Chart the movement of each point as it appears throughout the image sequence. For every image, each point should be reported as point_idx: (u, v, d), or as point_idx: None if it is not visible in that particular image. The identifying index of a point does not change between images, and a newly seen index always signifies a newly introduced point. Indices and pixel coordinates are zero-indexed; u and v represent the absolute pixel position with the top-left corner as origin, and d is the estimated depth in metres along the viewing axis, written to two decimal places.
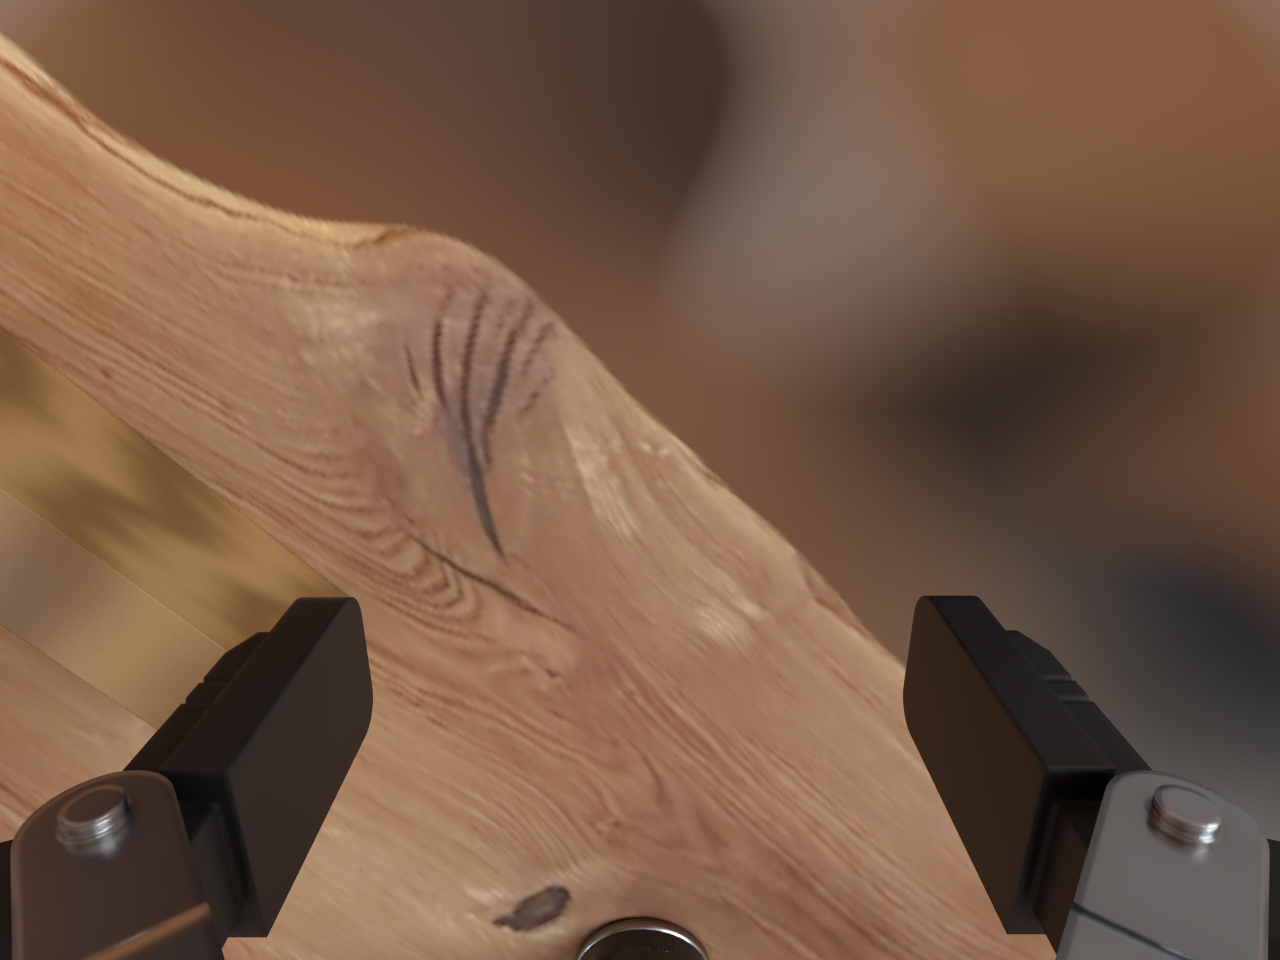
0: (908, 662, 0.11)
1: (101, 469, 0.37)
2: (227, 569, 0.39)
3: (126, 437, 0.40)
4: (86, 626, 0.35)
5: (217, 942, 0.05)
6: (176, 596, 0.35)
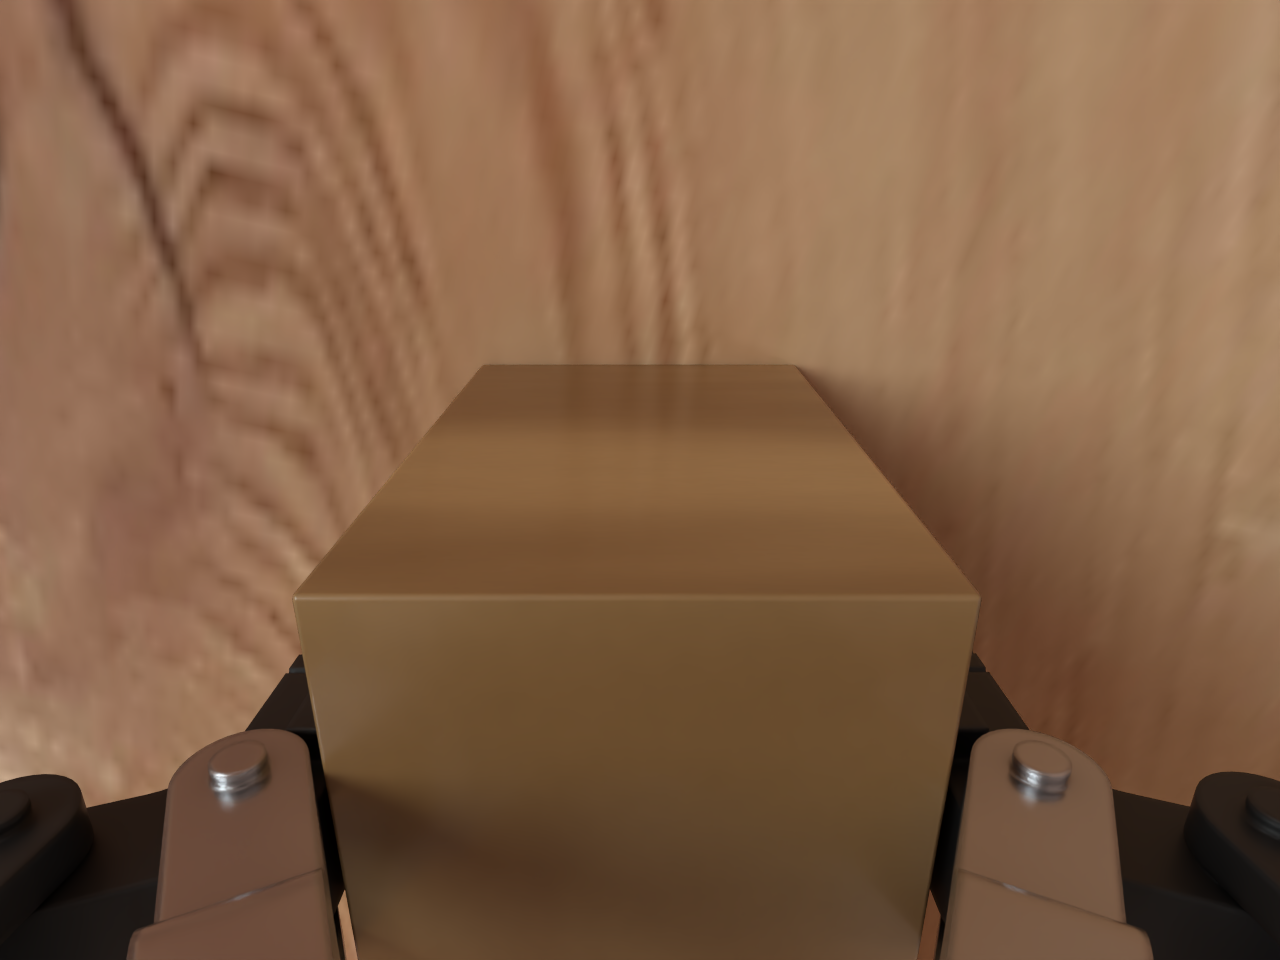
0: None
1: None
2: None
3: None
4: None
5: (324, 910, 0.05)
6: None
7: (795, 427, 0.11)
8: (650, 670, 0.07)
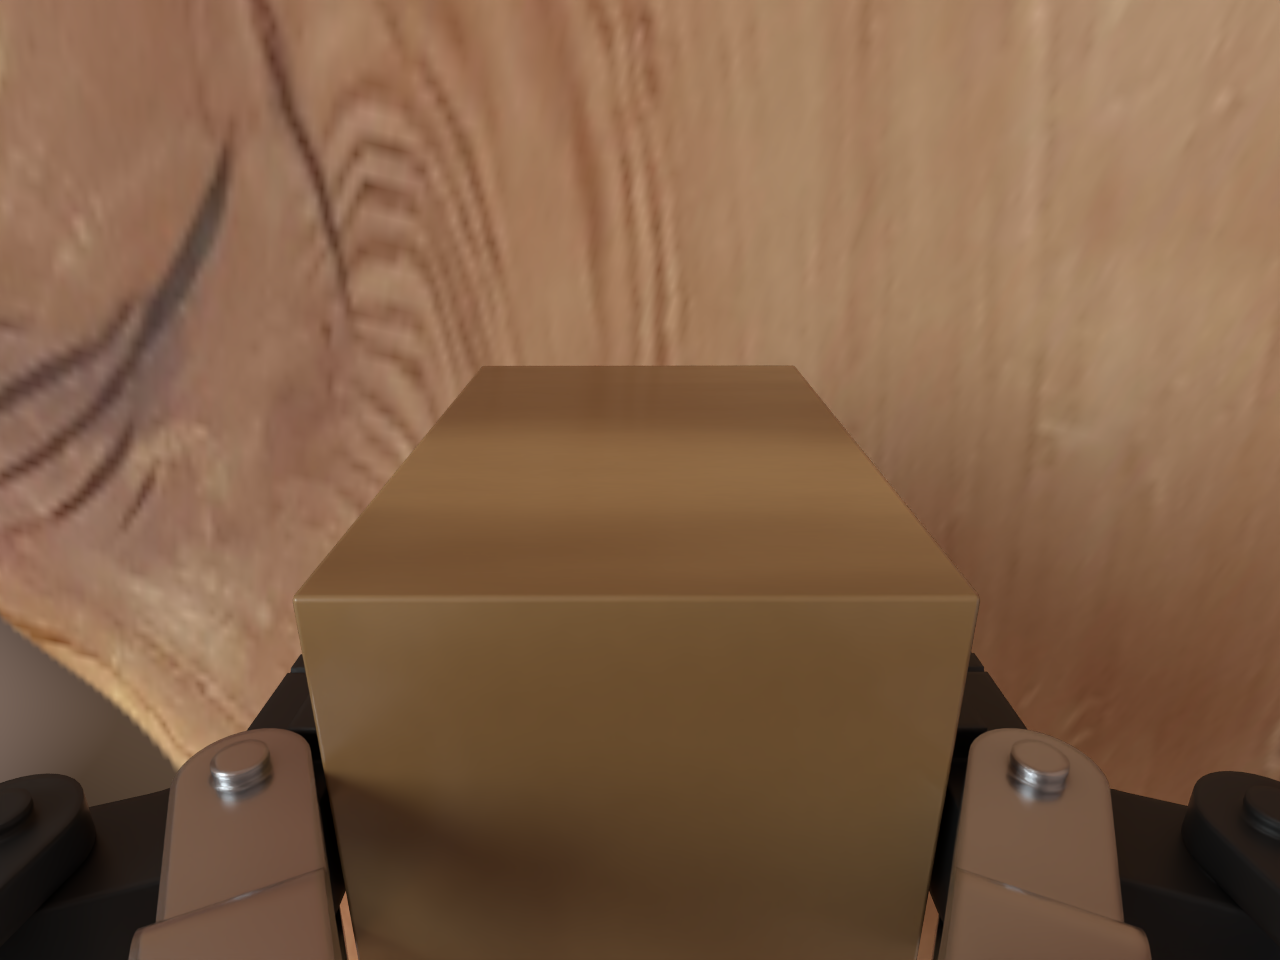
0: None
1: None
2: None
3: None
4: None
5: (327, 909, 0.05)
6: None
7: (794, 428, 0.11)
8: (648, 671, 0.07)
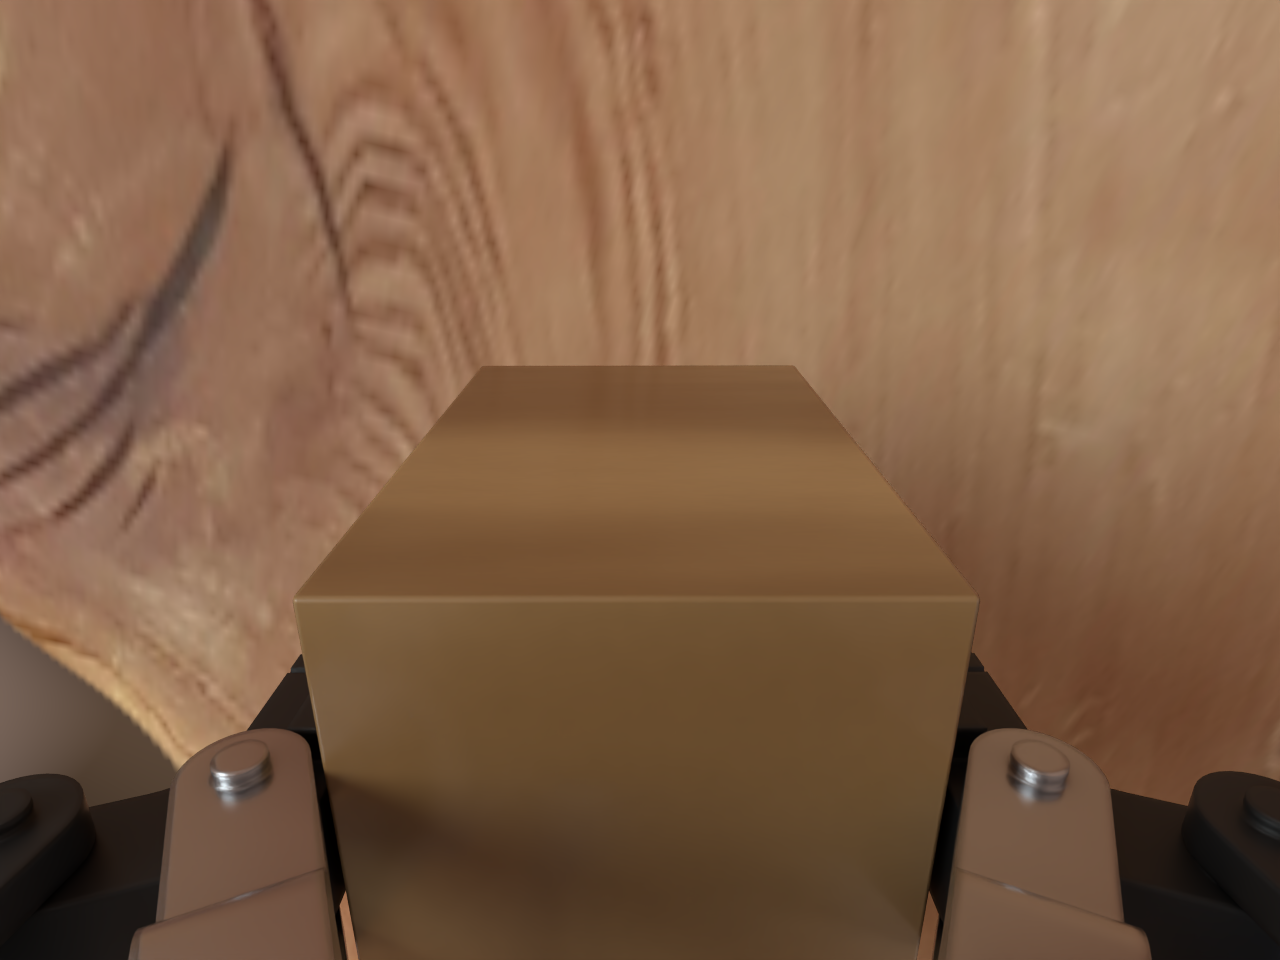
0: None
1: None
2: None
3: None
4: None
5: (326, 910, 0.05)
6: None
7: (794, 429, 0.11)
8: (648, 671, 0.07)
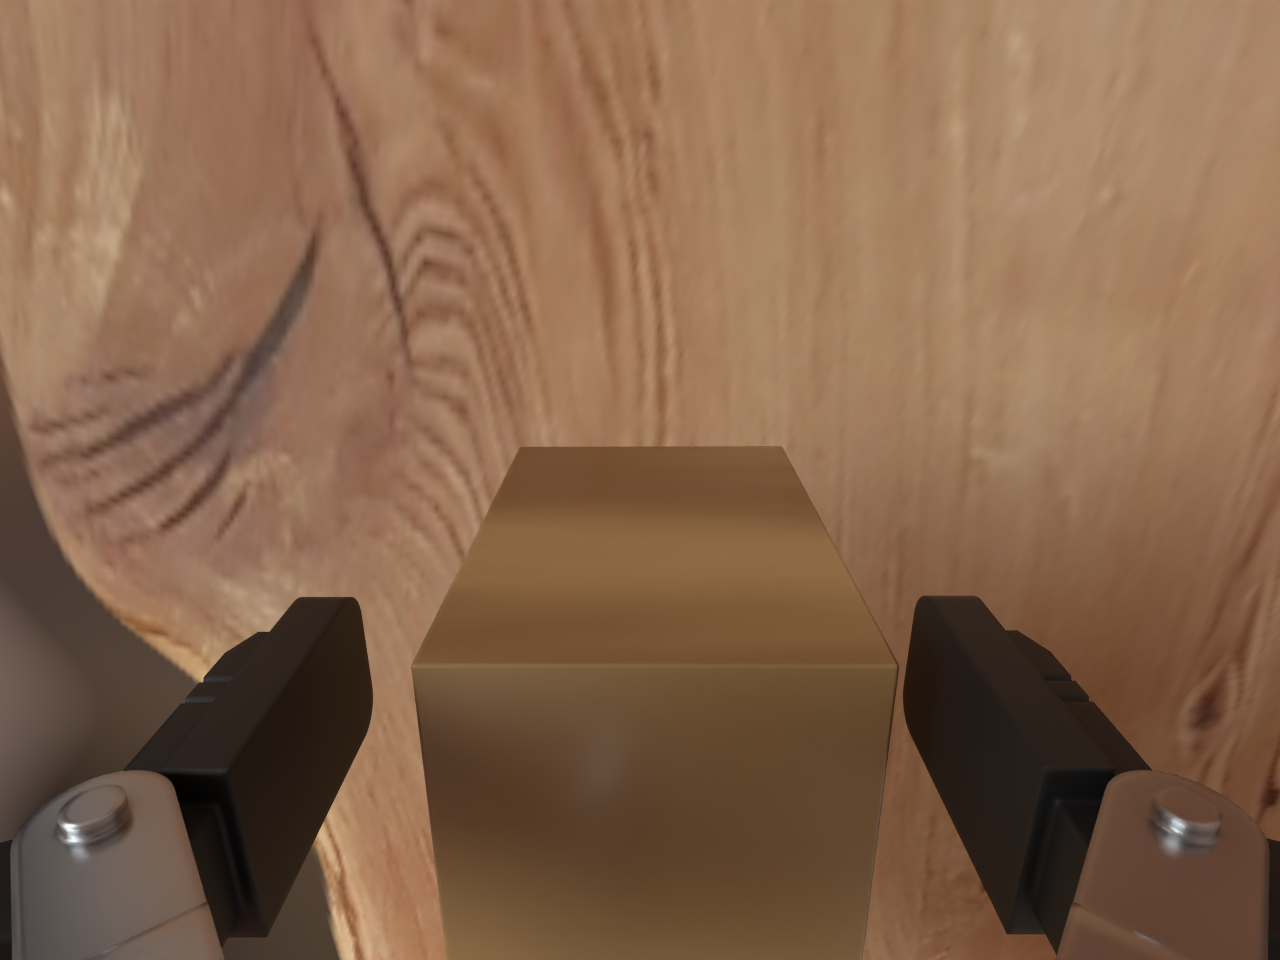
0: (908, 662, 0.11)
1: None
2: None
3: None
4: None
5: (217, 942, 0.05)
6: None
7: (777, 514, 0.14)
8: (663, 716, 0.10)
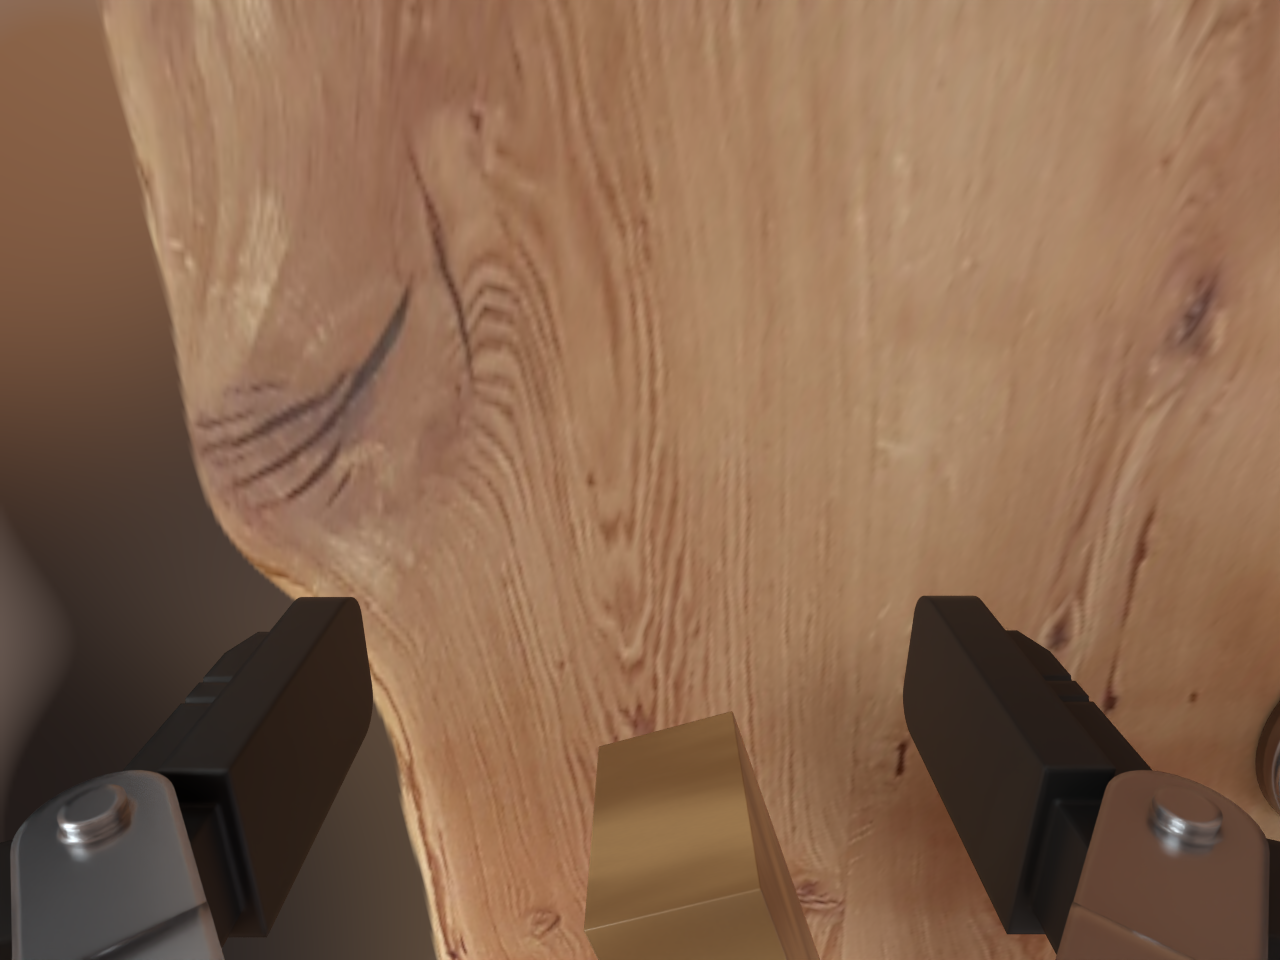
0: (908, 662, 0.11)
1: None
2: None
3: None
4: None
5: (217, 942, 0.05)
6: None
7: (724, 785, 0.29)
8: (681, 925, 0.25)
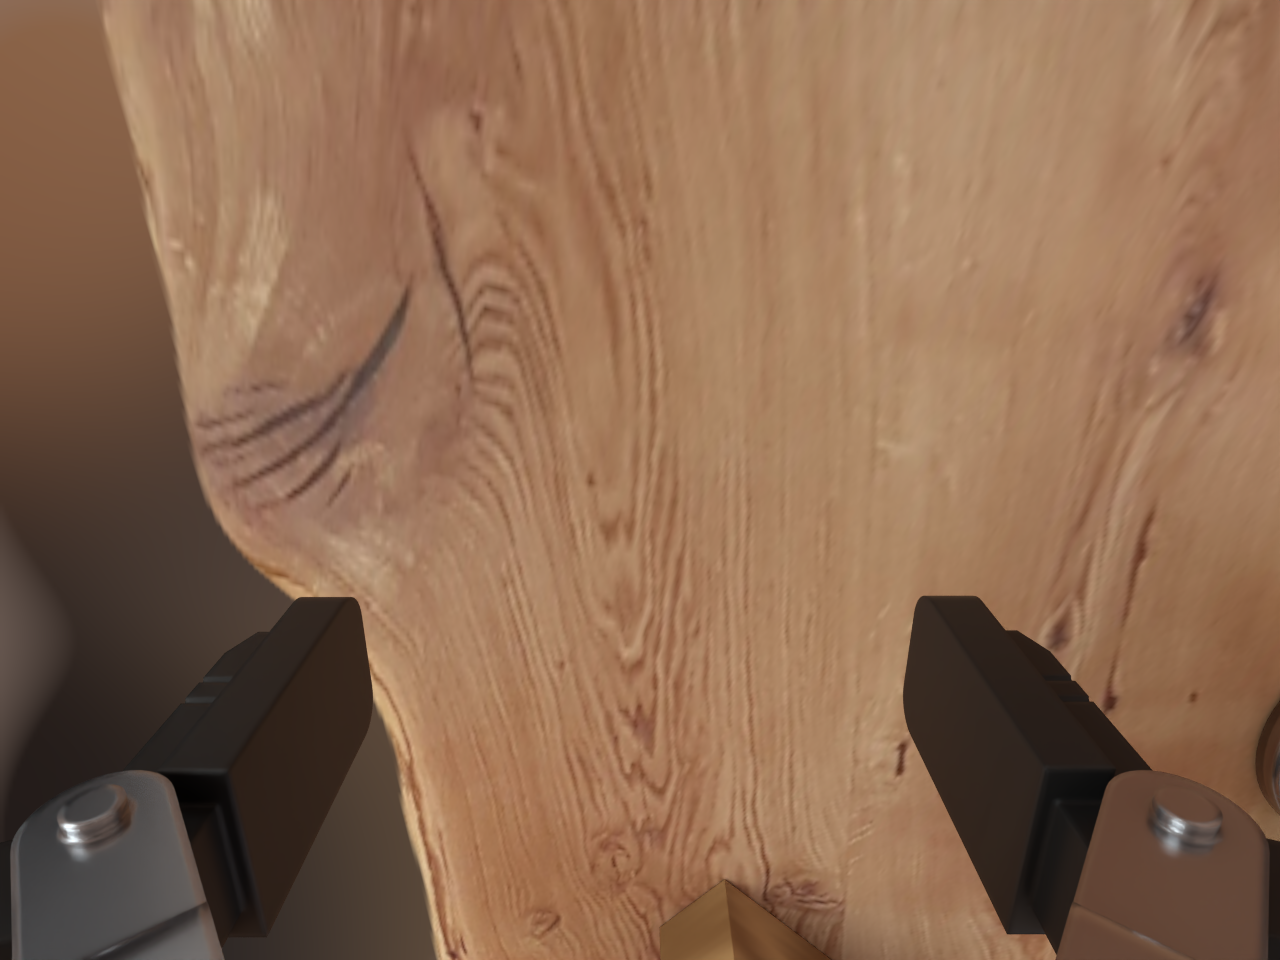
0: (908, 662, 0.11)
1: None
2: None
3: None
4: None
5: (217, 942, 0.05)
6: None
7: (722, 941, 0.47)
8: None
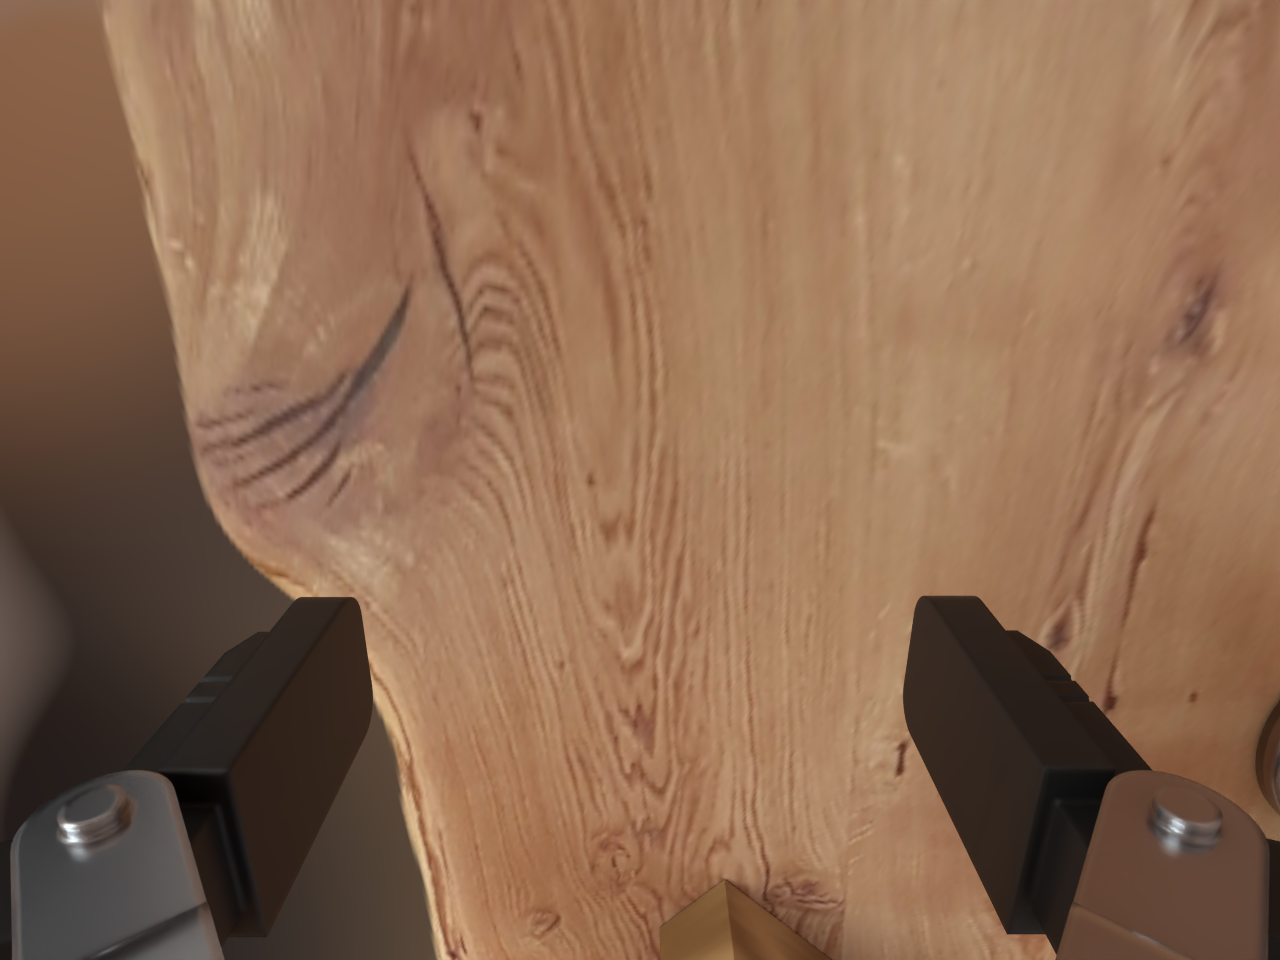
0: (908, 662, 0.11)
1: None
2: None
3: None
4: None
5: (217, 942, 0.05)
6: None
7: (722, 941, 0.47)
8: None
